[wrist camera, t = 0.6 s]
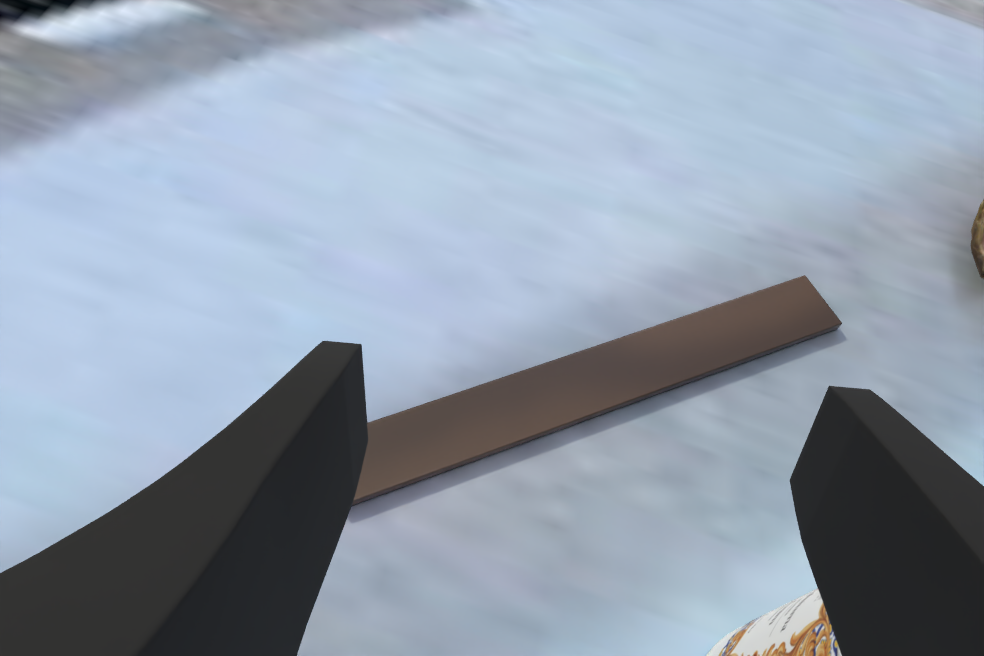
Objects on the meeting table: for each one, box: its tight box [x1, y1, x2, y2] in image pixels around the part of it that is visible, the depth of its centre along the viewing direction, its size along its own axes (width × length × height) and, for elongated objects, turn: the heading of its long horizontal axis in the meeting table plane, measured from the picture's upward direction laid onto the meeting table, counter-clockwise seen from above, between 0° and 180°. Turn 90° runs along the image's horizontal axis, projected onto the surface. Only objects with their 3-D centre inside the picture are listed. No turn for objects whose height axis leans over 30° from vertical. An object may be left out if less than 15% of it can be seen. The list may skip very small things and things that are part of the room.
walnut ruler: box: [352, 275, 842, 505], centre depth 31 cm, size 3×24×1 cm, turn 112°
